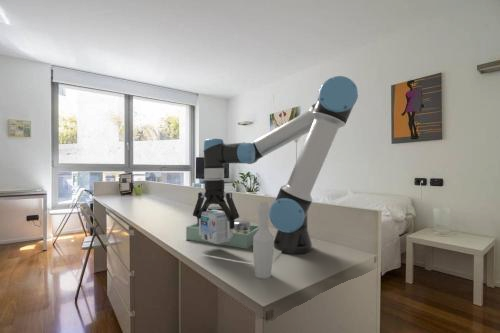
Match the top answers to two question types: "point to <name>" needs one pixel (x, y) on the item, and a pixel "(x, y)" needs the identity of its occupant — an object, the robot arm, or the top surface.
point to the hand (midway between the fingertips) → (215, 236)
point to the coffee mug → (215, 208)
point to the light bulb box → (214, 226)
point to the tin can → (241, 227)
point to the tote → (236, 241)
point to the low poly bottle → (263, 244)
